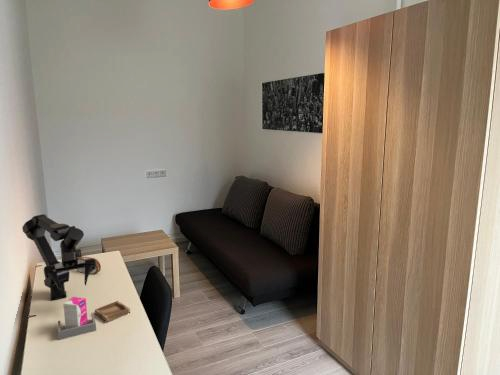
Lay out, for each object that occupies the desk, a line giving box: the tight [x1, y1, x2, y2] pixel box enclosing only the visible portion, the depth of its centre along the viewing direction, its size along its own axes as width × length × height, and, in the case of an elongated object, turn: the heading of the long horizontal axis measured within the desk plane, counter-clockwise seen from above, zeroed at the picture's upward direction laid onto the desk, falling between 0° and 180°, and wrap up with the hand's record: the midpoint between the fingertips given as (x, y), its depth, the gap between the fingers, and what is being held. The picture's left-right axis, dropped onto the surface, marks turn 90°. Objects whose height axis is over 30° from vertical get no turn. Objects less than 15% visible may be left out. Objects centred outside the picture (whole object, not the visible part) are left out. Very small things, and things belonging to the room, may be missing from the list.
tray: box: [94, 300, 131, 324], centre depth 152 cm, size 10×10×2 cm
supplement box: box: [63, 296, 89, 330], centre depth 141 cm, size 6×6×12 cm
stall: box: [57, 312, 97, 340], centre depth 141 cm, size 9×13×3 cm
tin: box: [76, 255, 102, 275], centre depth 193 cm, size 15×3×8 cm, turn 71°
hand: (72, 287), depth 146 cm, fingers open, 9 cm apart
